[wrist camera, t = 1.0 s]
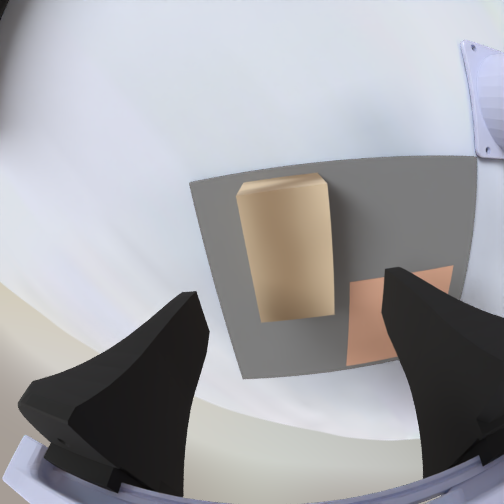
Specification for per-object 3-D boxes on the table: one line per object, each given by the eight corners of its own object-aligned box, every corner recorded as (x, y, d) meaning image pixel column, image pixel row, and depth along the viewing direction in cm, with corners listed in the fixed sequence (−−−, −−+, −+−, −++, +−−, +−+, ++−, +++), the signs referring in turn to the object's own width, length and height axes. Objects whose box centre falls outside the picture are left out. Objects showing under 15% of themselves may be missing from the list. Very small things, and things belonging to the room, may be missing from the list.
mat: (473, 156, 13) (477, 157, 12) (443, 344, 19) (445, 347, 19) (191, 181, 15) (188, 183, 15) (243, 375, 22) (242, 379, 22)
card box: (317, 172, 14) (327, 183, 12) (326, 285, 17) (334, 314, 14) (243, 182, 15) (235, 195, 12) (263, 292, 18) (261, 322, 15)
